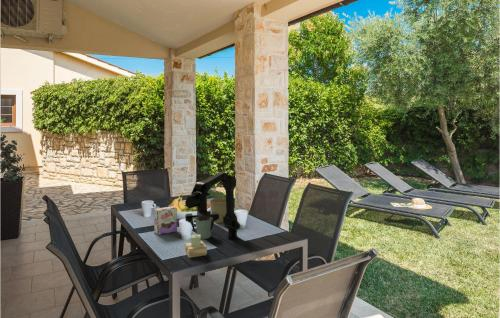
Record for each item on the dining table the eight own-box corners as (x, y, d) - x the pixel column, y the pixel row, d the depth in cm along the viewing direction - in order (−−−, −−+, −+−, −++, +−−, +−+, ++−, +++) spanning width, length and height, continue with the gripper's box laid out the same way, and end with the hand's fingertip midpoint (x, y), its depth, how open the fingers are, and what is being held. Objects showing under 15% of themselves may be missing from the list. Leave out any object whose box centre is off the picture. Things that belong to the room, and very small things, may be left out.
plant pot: (219, 225, 242) (219, 203, 240) (205, 221, 252) (205, 200, 250) (234, 221, 253) (234, 200, 251) (220, 217, 263) (220, 197, 261)
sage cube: (191, 243, 194) (191, 234, 193) (200, 242, 194) (200, 234, 194) (191, 246, 189) (191, 237, 188) (200, 246, 190) (200, 237, 189)
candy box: (157, 235, 221) (157, 210, 219) (154, 233, 226) (153, 208, 224) (177, 231, 229) (177, 207, 227) (173, 229, 234) (173, 205, 232)
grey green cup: (208, 239, 214) (208, 221, 212) (193, 238, 216) (193, 219, 214) (213, 234, 223) (213, 216, 222) (198, 233, 225) (198, 215, 224)
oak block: (185, 251, 195) (184, 243, 194) (202, 249, 198) (202, 240, 198) (188, 258, 185) (188, 249, 185) (206, 255, 189) (206, 246, 189)
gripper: (185, 209, 182) (185, 237, 184) (220, 207, 186) (220, 234, 188) (185, 203, 193) (185, 230, 195) (218, 202, 197) (218, 228, 199)
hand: (202, 231), depth 194 cm, fingers open, 9 cm apart
